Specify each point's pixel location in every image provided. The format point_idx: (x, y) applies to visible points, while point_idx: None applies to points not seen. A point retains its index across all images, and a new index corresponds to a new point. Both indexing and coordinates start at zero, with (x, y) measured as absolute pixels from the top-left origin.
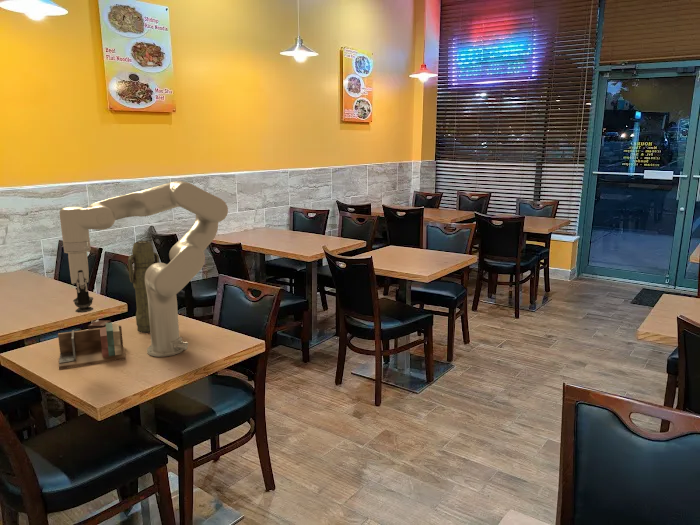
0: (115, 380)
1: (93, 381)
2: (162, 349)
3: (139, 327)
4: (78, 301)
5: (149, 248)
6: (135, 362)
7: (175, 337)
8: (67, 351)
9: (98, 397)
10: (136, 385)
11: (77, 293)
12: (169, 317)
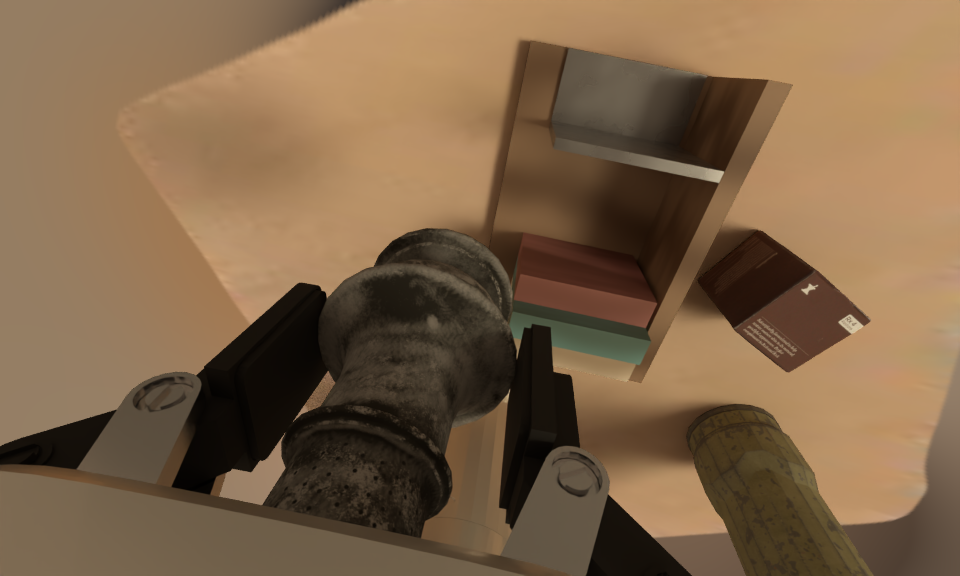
0: (305, 216)
1: (327, 149)
2: None
3: (735, 420)
4: (279, 301)
5: None
6: None
7: None
8: (700, 115)
9: (183, 133)
10: (243, 257)
11: (213, 365)
12: None
